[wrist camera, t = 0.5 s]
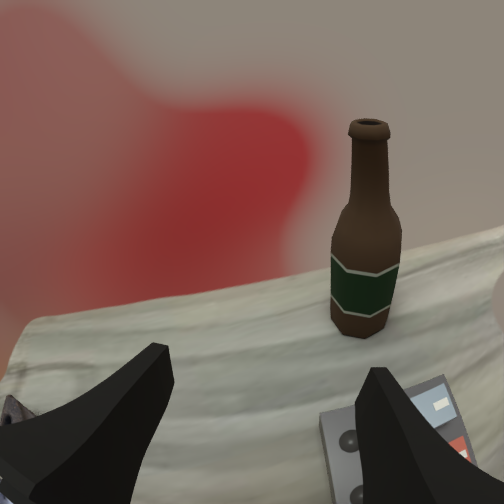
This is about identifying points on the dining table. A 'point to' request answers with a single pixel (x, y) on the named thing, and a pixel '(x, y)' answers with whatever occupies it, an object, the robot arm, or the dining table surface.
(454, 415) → the slate rocker
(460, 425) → the rocker switch panel
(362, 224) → the beer bottle
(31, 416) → the perforated stone tool
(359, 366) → the dining table surface
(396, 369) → the dining table surface
